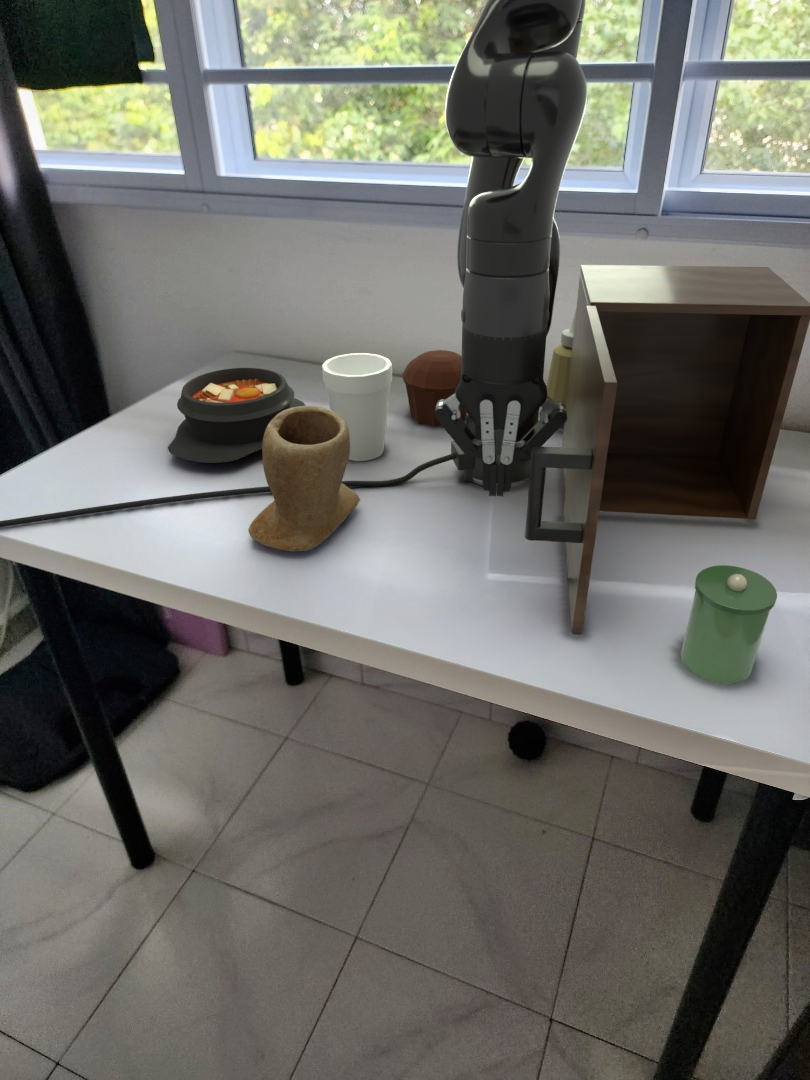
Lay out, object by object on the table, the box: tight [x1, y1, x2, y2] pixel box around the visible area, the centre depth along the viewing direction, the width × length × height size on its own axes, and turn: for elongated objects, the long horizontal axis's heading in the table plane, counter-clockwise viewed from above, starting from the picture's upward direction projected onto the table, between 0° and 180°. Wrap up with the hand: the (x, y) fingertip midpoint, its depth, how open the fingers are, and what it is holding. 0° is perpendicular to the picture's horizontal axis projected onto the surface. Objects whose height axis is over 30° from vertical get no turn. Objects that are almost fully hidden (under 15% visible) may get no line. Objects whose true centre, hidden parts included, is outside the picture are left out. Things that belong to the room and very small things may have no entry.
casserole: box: [167, 367, 307, 464], centre depth 111 cm, size 25×19×8 cm
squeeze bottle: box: [546, 310, 576, 428], centre depth 110 cm, size 8×8×18 cm
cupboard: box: [561, 264, 810, 520], centre depth 91 cm, size 17×22×26 cm
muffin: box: [402, 349, 467, 427], centre depth 116 cm, size 12×11×10 cm
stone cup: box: [247, 405, 361, 552], centre depth 87 cm, size 15×12×15 cm
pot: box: [680, 564, 778, 685], centre depth 67 cm, size 7×7×10 cm
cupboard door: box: [524, 306, 617, 635], centre depth 76 cm, size 6×22×26 cm, turn 172°
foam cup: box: [321, 352, 393, 462], centre depth 105 cm, size 10×9×13 cm
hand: (496, 492), depth 76 cm, fingers closed
